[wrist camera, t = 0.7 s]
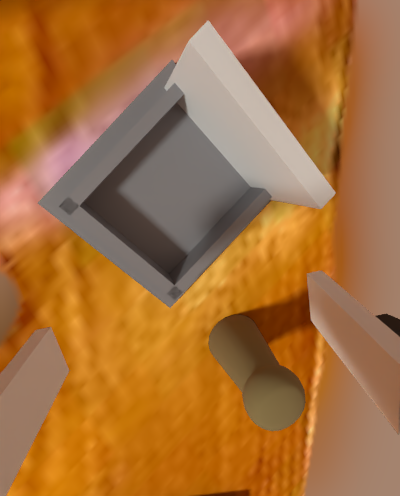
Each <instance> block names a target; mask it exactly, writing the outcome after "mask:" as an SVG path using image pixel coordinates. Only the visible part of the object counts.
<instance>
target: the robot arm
mask: <svg viewBox="0 0 400 496" xmlns="http://www.w3.org/2000/svg"><path fill="white" fill-rule="evenodd" d="M307 282H308V294H309V305H310V317H311V321H312V323H313V324H314V325H315V326H316V328H317V329H318V330H319V332H320V333H321V334H322V336H323V337H324V338H325V339H326V341H327V342H328V343H329V345H330V346H331V347H332V349H333V350H334V351H335V352H336V353H337V355H338V356H339V358H340V359H341V360H342V362H343V363H344V364H345V366H346V367H347V368H348V369H349V371H350V372H351V373H352V375H353V376H354V377H355V379H356V380H357V381H358V382H359V384H360V385H361V386H362V388H363V389H364V390H365V392H366V393H367V394H368V396H369V397H370V398H371V400H372V401H373V402H374V403H375V405H376V406H377V407H378V409H379V410H380V411H381V413H382V414H383V415H384V417H385V418H386V419H387V420H388V422H389V423H390V424H391V426H392V427H393V428H394V430H395V431H396V432H397V433H398V434H400V319H398V318H395V317H393V316H391V315H388V314H382V315H378V316H374V315H373V314H372V313H371V312H370V311H369V310H367V309H366V308H365V307H364V306H363V305H362V304H360V303H359V302H358V301H357V300H356V299H354V298H353V297H352V296H351V295H350V294H349V293H347V292H346V291H345V290H344V289H343V288H342V287H340V286H339V285H338V284H337V283H336V282H335V281H333V280H332V279H331V278H330V277H329V276H328V275H326V274H325V273H324V272H323V271H317V272H312V273H308V274H307ZM68 372H69V369H68V366H67V364H66V362H65V359H64V357H63V355H62V352H61V350H60V347H59V345H58V343H57V340H56V338H55V336H54V333H53V331H52V329H51V327H48V328H43V329H39V330H36V331H35V332H34V333H33V334H32V336H31V337H30V338H29V339H28V341H27V342H26V343H25V344H24V345H23V347H22V348H21V349H20V350H19V352H18V353H17V354H16V355H15V357H14V358H13V359H12V360H11V362H10V363H9V364H8V365H7V367H6V368H5V369H4V370H3V372H2V373H1V374H0V496H6V495H7V493H8V491H9V489H10V487H11V485H12V483H13V481H14V479H15V477H16V475H17V473H18V471H19V469H20V467H21V465H22V463H23V461H24V459H25V457H26V455H27V453H28V451H29V449H30V447H31V445H32V443H33V441H34V439H35V437H36V435H37V433H38V431H39V429H40V427H41V426H42V424H43V422H44V420H45V418H46V416H47V414H48V412H49V410H50V408H51V406H52V404H53V402H54V400H55V398H56V396H57V394H58V392H59V390H60V388H61V386H62V384H63V382H64V380H65V378H66V376H67V374H68Z"/></svg>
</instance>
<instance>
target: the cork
mask: <svg viewBox="0 0 400 496" xmlns="http://www.w3.org/2000/svg"><path fill="white" fill-rule="evenodd" d="M209 348H210V351H211V353H212V354H213V356H214V357H215V359H216V360H217V361H218V362H219V364H220V365H221V366H222V367H223V369H224V370H225V371H226V372H227V374H228V375H229V376H230V377H231V379H232V380H233V381H234V383H235V384H236V385H237V386H238V388H239V389H240V390H241V391H242V393H243V394H242V396H243V402H244V407H245V409H246V411H247V413H248V415H249V417H250V418H251V420H252V421H253V422H254V423H255V424H256V425H258V426H260V427H261V428H263V429H265V430H270V431H277V430H282V429H284V428H287V427H289V426H290V425H291V424H293V423H294V422H295V421H296V420H297V419H298V418H299V417H300V415H301V413H302V412H303V410H304V406H305V392H304V388H303V386H302V384H301V382H300V380H299V378H298V377H297V376H296V375H295V374H294V373H293V372H291V371H290V370H289V369H287V368H286V367H284V366H280V365H279V363H278V361H277V360H276V358H275V356H274V355H273V353H272V351H271V349H270V348H269V346H268V344H267V343H266V341H265V339H264V338H263V336H262V334H261V332H260V331H259V329H258V327H257V326H256V324H255V322H254V321H253V320H252V319H250V318H249V317H247V316H244V315H231V316H228V317H226V318H224V319H222V320H221V321H219V322H218V323H217V324H216V326H215V327H214V328H213V330H212V332H211V334H210V336H209Z"/></svg>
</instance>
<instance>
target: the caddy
mask: <svg viewBox="0 0 400 496" xmlns="http://www.w3.org/2000/svg"><path fill="white" fill-rule="evenodd" d="M335 194H336V192H335V191H334V190H333V188H332V187H331V186H330V184H329V183H328V182H327V180H326V179H325V177H324V176H323V175H322V173H321V172H320V171H319V169H318V168H317V167H316V165H315V164H314V163H313V161H312V160H311V159H310V157H309V156H308V154H307V153H306V152H305V150H304V149H303V148H302V146H301V145H300V144H299V142H298V141H297V140H296V138H295V137H294V136H293V134H292V133H291V132H290V130H289V129H288V127H287V126H286V125H285V123H284V122H283V121H282V119H281V118H280V117H279V115H278V114H277V113H276V111H275V110H274V109H273V107H272V106H271V104H270V103H269V102H268V100H267V99H266V98H265V96H264V95H263V94H262V92H261V91H260V90H259V88H258V87H257V86H256V84H255V83H254V81H253V80H252V79H251V77H250V76H249V75H248V73H247V72H246V71H245V69H244V68H243V67H242V65H241V64H240V63H239V61H238V60H237V58H236V57H235V56H234V54H233V53H232V52H231V50H230V49H229V48H228V46H227V45H226V44H225V42H224V41H223V40H222V38H221V37H220V35H219V34H218V33H217V31H216V30H215V29H214V27H213V26H212V25H211V23H210V22H209V21H207V22H206V23H205V24H204V25H203V26H202V27H201V28H200V29H199V30H198V32H197V33H196V34H195V35H194V36H193V37H192V38H191V39H190V40H189V41H188V43H187V45H186V47H185V49H184V51H183V53H182V55H181V57H180V59H179V60H178V62H177V64H175V63H174V62H173V60H171V61H170V62H169V64H168V65H167V66H166V67H165V68H164V69H163V70H162V71H161V72H160V73H159V74H158V75H157V76H156V77H155V78H154V80H153V81H152V82H151V83H150V84H149V85H148V86H147V87H146V88H145V89H144V90H143V91H142V92H141V93H140V94H139V96H138V97H137V98H136V99H135V100H134V101H133V102H132V103H131V104H130V105H129V106H128V107H127V108H126V109H125V110H124V112H123V113H122V114H121V115H120V116H119V117H118V118H117V119H116V120H115V121H114V122H113V123H112V124H111V125H110V126H109V128H108V129H107V130H106V131H105V132H104V133H103V134H102V135H101V136H100V137H99V138H98V139H97V140H96V141H95V143H94V144H93V145H92V146H91V147H90V148H89V149H88V150H87V151H86V152H85V153H84V154H83V155H82V156H81V157H80V159H79V160H78V161H77V162H76V163H75V164H74V165H73V166H72V167H71V168H70V169H69V170H68V171H67V172H66V173H65V175H64V176H63V177H62V178H61V179H60V180H59V181H58V182H57V183H56V184H55V185H54V186H53V187H52V188H51V189H50V191H49V192H48V193H47V194H46V195H45V196H44V197H43V198H42V199H41V200H40V201H39V202H38V204H39V205H41V206H42V207H43V208H45V209H46V210H47V211H48V212H50V213H51V214H52V215H53V216H55V217H56V218H57V219H58V220H60V221H61V222H62V223H63V224H65V225H66V226H67V227H69V228H70V229H71V230H72V231H74V232H75V233H76V234H77V235H79V236H80V237H81V238H82V239H84V240H85V241H86V242H87V243H89V244H90V245H91V246H93V247H94V248H95V249H96V250H98V251H99V252H100V253H101V254H103V255H104V256H105V257H106V258H108V259H109V260H110V261H111V262H113V263H114V264H115V265H117V266H118V267H119V268H120V269H122V270H123V271H124V272H125V273H127V274H128V275H129V276H130V277H132V278H133V279H134V280H135V281H137V282H138V283H139V284H141V285H142V286H143V287H144V288H146V289H147V290H148V291H149V292H151V293H152V294H153V295H154V296H156V297H157V298H158V299H159V300H161V301H162V302H163V303H165V304H166V305H167V306H168V307H171V306H172V305H173V304H174V303H175V302H176V301H177V300H178V299H179V298H180V297H181V296H182V295H183V294H184V293H185V291H186V290H187V289H188V288H189V287H190V286H191V285H192V284H193V283H194V282H195V281H196V280H197V279H198V278H199V277H200V275H201V274H202V273H203V272H204V271H205V270H206V269H207V268H208V267H209V266H210V265H211V264H212V263H213V262H214V261H215V259H216V258H217V257H218V256H219V255H220V254H221V253H222V252H223V251H224V250H225V249H226V248H227V247H228V246H229V245H230V243H231V242H232V241H233V240H234V239H235V238H236V237H237V236H238V235H239V234H240V233H241V232H242V231H243V230H244V229H245V227H246V226H247V225H248V224H249V223H250V222H251V221H252V220H253V219H254V218H255V217H256V216H257V215H258V214H259V213H260V211H261V210H262V209H263V208H264V207H265V206H266V205H267V204H268V203H269V202H270V201H271V200H274V201H280V202H285V203H290V204H296V205H301V206H307V207H312V208H318V209H322V208H323V206H324V205H325V204H326V203H327V202H328V201H329V200H330V199H331V198H332V197H333V196H334V195H335Z"/></svg>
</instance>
